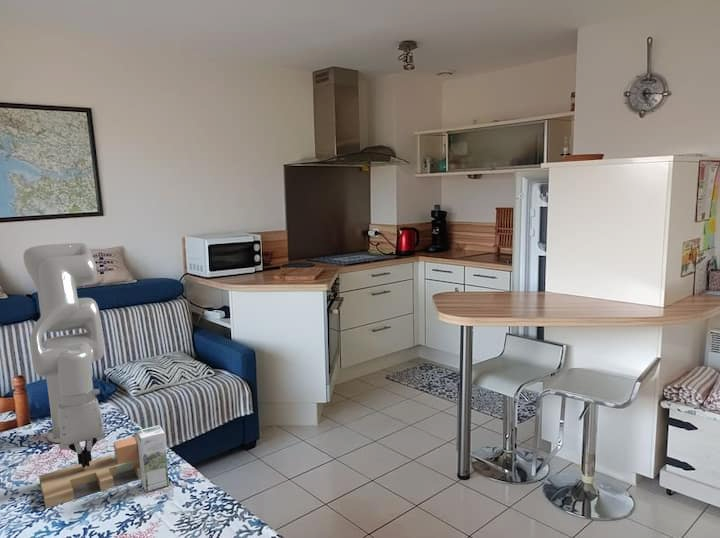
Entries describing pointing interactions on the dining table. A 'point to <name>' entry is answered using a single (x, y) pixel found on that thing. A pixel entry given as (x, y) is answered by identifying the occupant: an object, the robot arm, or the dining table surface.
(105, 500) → the dining table surface
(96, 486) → the board
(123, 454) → the orange block
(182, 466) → the dining table surface
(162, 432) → the syrup box
